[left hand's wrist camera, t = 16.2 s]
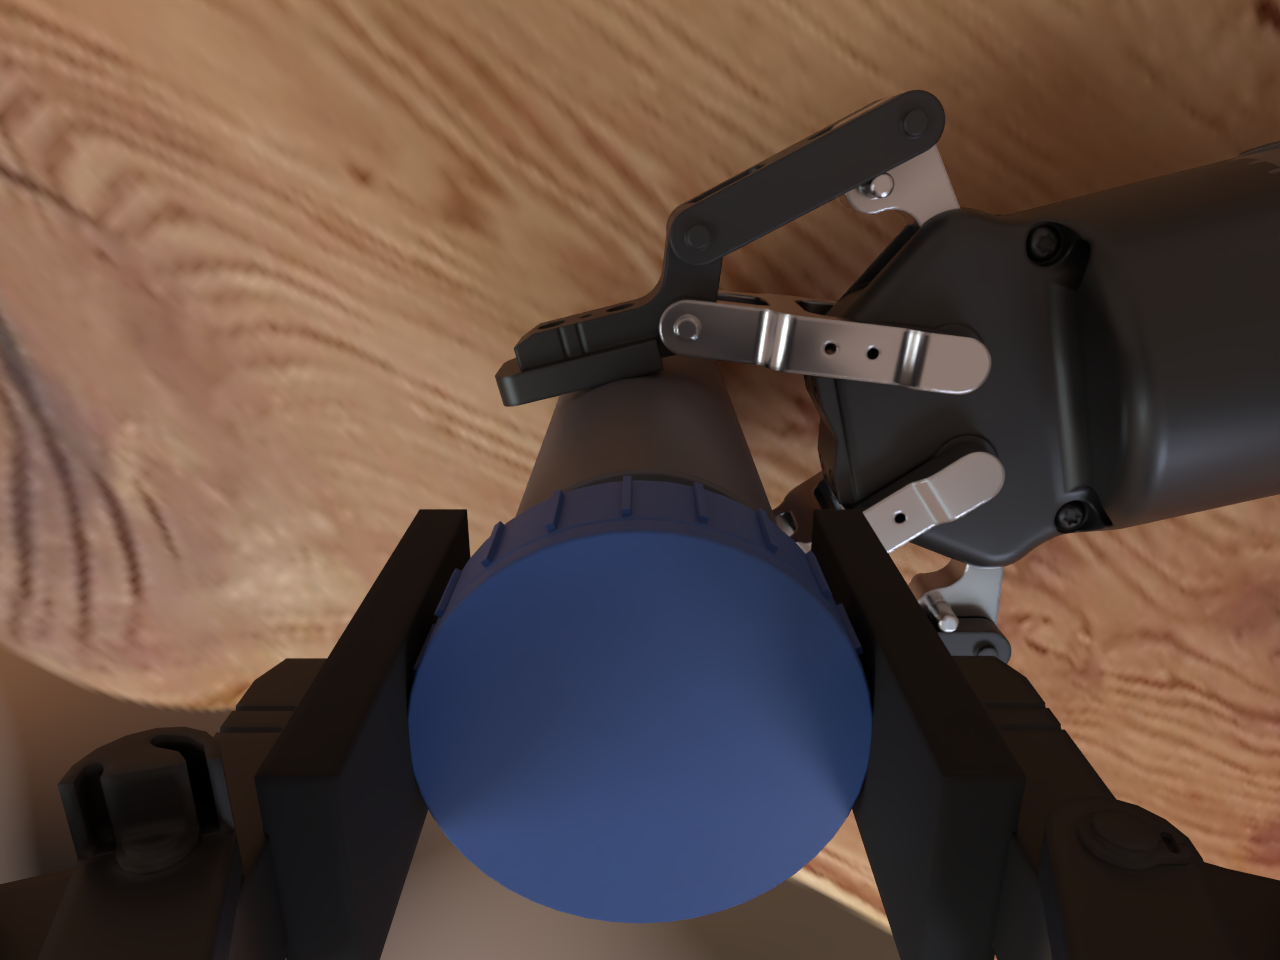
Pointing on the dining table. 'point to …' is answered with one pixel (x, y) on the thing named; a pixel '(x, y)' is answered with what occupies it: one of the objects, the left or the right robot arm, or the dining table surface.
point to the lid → (640, 704)
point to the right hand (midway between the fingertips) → (540, 495)
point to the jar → (649, 436)
